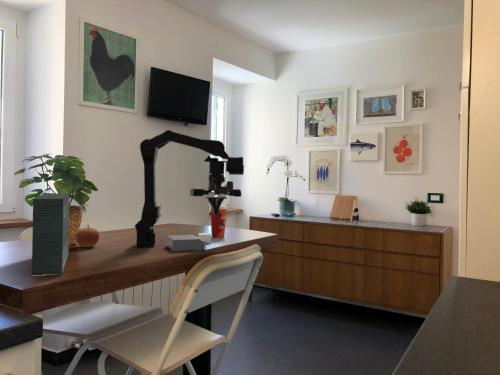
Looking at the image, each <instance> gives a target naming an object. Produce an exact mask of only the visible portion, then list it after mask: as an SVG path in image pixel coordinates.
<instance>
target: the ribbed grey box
mask: <svg viewBox="0 0 500 375" xmlns="http://www.w3.org/2000/svg"><path fill="white" fill-rule="evenodd" d="M69 232H70V193H49V192H48V193H44V194H41V195H39V196H36V197H33V198H32V233H31V234H32V237H31V238H32V240H31V242H32V244H31V245H32V246H31V252H32V253H31V256H32V257H31V276H32V275H43V274H62V272H63V273H64V270H65V267H66V264H67V261H68V257H69V246H70V245H69V243H70V242H69V238H70V237H69V236H70V235H69V234H70V233H69ZM65 263H66V264H65ZM64 266H65V267H64ZM63 269H64V270H63ZM62 275H63V274H62Z"/></svg>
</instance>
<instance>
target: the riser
mask: <svg viewBox="0 0 500 375" xmlns="http://www.w3.org/2000/svg"><path fill="white" fill-rule="evenodd" d="M198 237H199V238H201V239H203V240H205V241H206V244H211V242H212V233H208V232H201V233H200V232H199V233H198Z"/></svg>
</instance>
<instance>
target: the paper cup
mask: <svg viewBox="0 0 500 375" xmlns="http://www.w3.org/2000/svg"><path fill="white" fill-rule="evenodd" d="M227 210H228V207H227V205H226V204H225V205H224V204H223V205H222V204H221V206H220V208H219V211H218V214H217V215H214V213H213V211H212V208H211V207H210V221H211V223H210V230H211V238H216V239H218V238H219V239H223V238H225V235H226V220H227V212H228V211H227Z"/></svg>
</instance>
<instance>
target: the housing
mask: <svg viewBox="0 0 500 375" xmlns="http://www.w3.org/2000/svg"><path fill="white" fill-rule="evenodd" d="M198 237H199V236H197V235H195V234H175V235H174V234H173V235H171V234H170V235H169V234H167V236H166V246H167V248H169V249H170V250H171V251H172V252H185V251H189V250H191V251H202V250H203V249H202V240H201V239H200V238H198ZM189 252H190V251H189Z"/></svg>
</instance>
